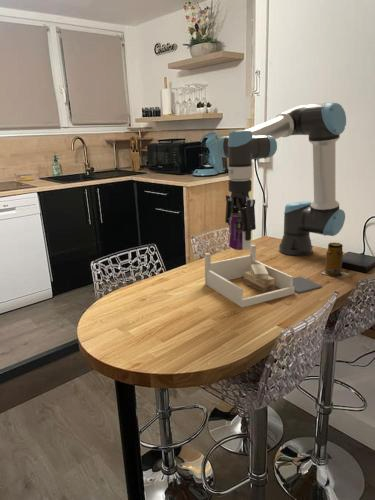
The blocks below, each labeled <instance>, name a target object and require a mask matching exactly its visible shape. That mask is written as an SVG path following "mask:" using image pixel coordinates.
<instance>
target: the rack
mask: <svg viewBox="0 0 375 500" xmlns="http://www.w3.org/2000/svg"><path fill="white" fill-rule="evenodd" d="M256 253H257V246H256V244H250V249H249V254H247V255H243V256H242V255H241V256H238V257H233V258H228V259H227V258H226V259H224V260H223V259H222V260H217V261H212V259H211V258H212V256H211V253H210V252H206V253H204V284H205V285H206V286H208V287H209V288H211V289H212V290H214V291H215V292H217V293H218V294H220V295H221V296H223V297H225V298H226V299H228V300H230V301H231V302H232V303H234V304H236V305H237V306H238V307H240V308H247V307H249V306H253V305H257V304H260V303H264V302H265V303H266V302H268V301H272V300H277V299H279V298H283V297H288V296H291V295H294V294H295V291H294V289H295V287H293V278H294V276H292V275H291V274H288V273H285V272H283V271H282V270H279V269H276V268H274V267H272V266H270V265H267V264H265V263H262V262H261V261H259V260H257V259H256ZM255 264H264V266H265V268H266V270H267V272H268V276H270V277H272V278H274V279H275V280H274V284H275V288H279V289H275V290H272V291H269V292H265V293H264V292H263V293H260V294H256V295H252V296H248V297H245V298H244V296H243V295H244V294H243V293H244V291H243V290H244V288H242V287H240V286H238V285H237V284H236V283H234V282H232V281H230V280H235V279H238V278H241V277H243V278H244V277H245V272H248V271H251V265H255Z"/></svg>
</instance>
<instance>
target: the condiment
mask: <svg viewBox="0 0 375 500" xmlns="http://www.w3.org/2000/svg"><path fill="white" fill-rule="evenodd" d="M343 247H344V245H343V244H342V243H339V242H329V243H328V244H327V250H326V252H325V253H326V255H325V266H324V271H321V272H320V274H323V275H326V276H330V277H334V278H337V279H342V278H344V277H347V276H349V275H350V273H348V272H344V271H342V266H343V257H344V252H343Z"/></svg>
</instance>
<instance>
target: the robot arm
mask: <svg viewBox="0 0 375 500" xmlns="http://www.w3.org/2000/svg"><path fill="white" fill-rule="evenodd" d="M346 126H347V116H346V112H345V109H344V107H343V106H342V105H341V104H340V103H338V102H323V103H314V104H313V103H311V104H303V105H298V106H296V107H293V108H291V109H288V110H286V111H283V112H280V113H279V114H277V115H276V116H275V118H273V119H271V120H270V119H269V120H268V121H266V122H263V123H261V124H258V125H255V126H253V127H251V128H248V129H244V130H243V129H242V130H231V131H230V132H229V133H228V135H226V136H220V137H219V138H218V139H217V140H216V143H215V151H216V153H217V154H216V155H218V156H219V157H220V158H225V159H228V179H229V181H228V192H230V193H231V194H227V195H225V202H226V205H225V219H224V220H225V221H224V222H225V223H226V224H227V225H228V226H229V219H230V217H231V213H238V212H241V216H242V221H243V226H244V230H242V231H243V237H242V250H241V251H247V250H250V245H251V239H252V231H255V230H256V227H257V226H256V211H255V206H256V199H251V198H250V195H249V193H250V192H252V184H253V183H252V177H253V174H252V173H253V165H252V164H253V160H260V159H261V160H262V159H267V158H271V157H273V156H274V155H275V154H276V153H277V150H278V142H277V139H280V138H287V137H290V136H308V142H309V143H310V144H312V162H313V164H312V166H313V167H312V168H313V169H312V170H313V174H312V175H313V202H312V201H296V202H289V203H287V204H286V205H285V206H284V212H283V214H284V218H283V219H284V220H283V235H282V238H281V242H280V243H279V246H278V252H279V253H282V254H284V255H289V256H307V255H310V254H311V255H312V253H313V245H312V241H311V236H310V233H312V234H316V235H322V236H326V237H327V236H330V237H333V236H334V237H335V236H337V235H338V234H339V233H340V232H341V230H342V228H343V227H344V225H345V221H346V213H345V211H344V210H343V209H340V202H339V201H338V200H337V199H336V143H337V141H338V140H339V139H340V135H341V134H342V133H343V132H344V131H345V129H346Z"/></svg>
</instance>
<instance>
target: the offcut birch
mask: <svg viewBox="0 0 375 500" xmlns="http://www.w3.org/2000/svg"><path fill="white" fill-rule="evenodd" d="M264 264H265V263H263V264H255V265H251V272H252V275H253V278H254V280H268V272H267V270H266V268H265V266H264Z"/></svg>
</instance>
